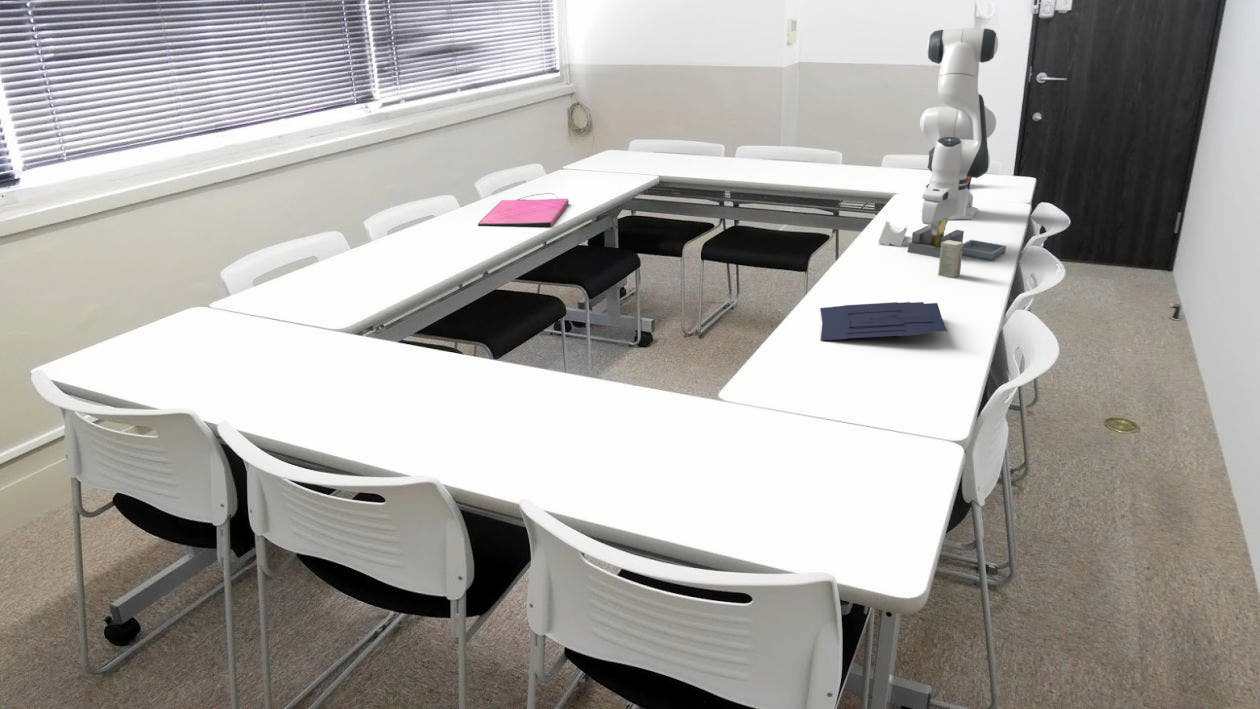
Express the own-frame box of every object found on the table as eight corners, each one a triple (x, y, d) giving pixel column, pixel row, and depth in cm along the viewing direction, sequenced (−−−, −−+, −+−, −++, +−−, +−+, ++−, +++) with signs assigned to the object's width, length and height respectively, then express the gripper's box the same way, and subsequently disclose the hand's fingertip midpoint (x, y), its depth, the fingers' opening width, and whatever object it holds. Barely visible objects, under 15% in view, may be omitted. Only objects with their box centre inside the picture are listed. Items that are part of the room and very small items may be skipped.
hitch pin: (933, 247, 301) (937, 211, 296) (943, 249, 298) (948, 213, 294) (928, 249, 298) (932, 213, 293) (939, 251, 296) (943, 215, 291)
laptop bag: (550, 218, 328) (477, 218, 332) (551, 229, 330) (478, 229, 333) (570, 192, 365) (504, 192, 368) (571, 202, 366) (505, 202, 370)
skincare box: (960, 275, 273) (964, 242, 270) (953, 278, 271) (957, 245, 267) (944, 271, 277) (948, 239, 273) (937, 274, 274) (941, 242, 270)
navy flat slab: (948, 344, 220) (948, 330, 219) (821, 350, 227) (820, 337, 226) (936, 310, 242) (936, 297, 241) (820, 317, 249) (820, 304, 248)
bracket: (898, 249, 303) (907, 228, 299) (878, 242, 304) (886, 221, 301) (902, 239, 314) (910, 219, 311) (882, 232, 316) (890, 212, 312)
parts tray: (969, 247, 301) (970, 239, 300) (1005, 253, 294) (1006, 245, 293) (955, 254, 293) (956, 247, 292) (991, 261, 286) (992, 253, 285)
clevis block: (926, 242, 306) (928, 225, 304) (961, 248, 299) (963, 231, 296) (907, 252, 296) (909, 234, 294) (943, 258, 289) (945, 240, 287)
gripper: (947, 183, 300) (942, 224, 305) (920, 194, 286) (915, 237, 291) (966, 186, 296) (960, 227, 301) (939, 197, 282) (934, 241, 287)
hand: (938, 232), depth 296 cm, fingers closed on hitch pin, 4 cm apart
